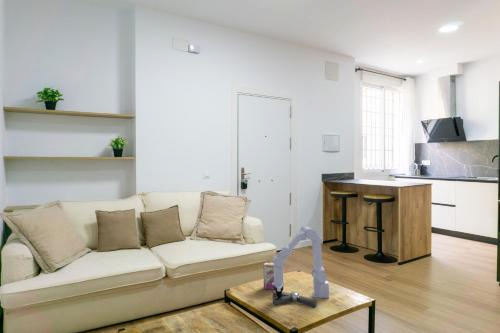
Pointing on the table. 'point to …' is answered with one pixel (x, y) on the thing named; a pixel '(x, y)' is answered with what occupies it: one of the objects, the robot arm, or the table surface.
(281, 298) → the stool base
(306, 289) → the table surface
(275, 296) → the folding foot
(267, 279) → the candy bar box
